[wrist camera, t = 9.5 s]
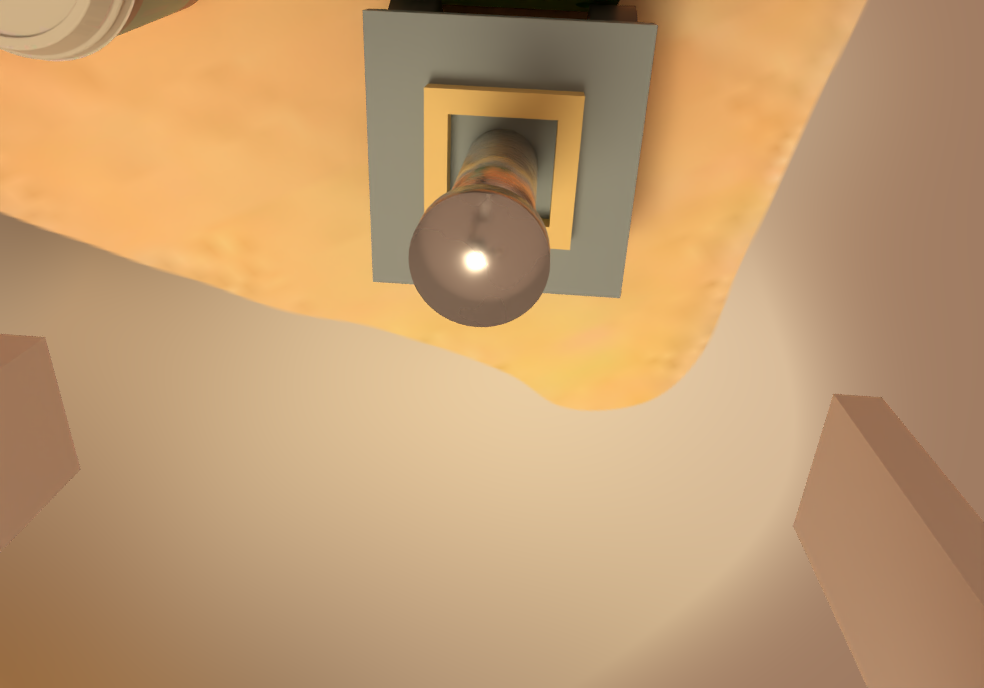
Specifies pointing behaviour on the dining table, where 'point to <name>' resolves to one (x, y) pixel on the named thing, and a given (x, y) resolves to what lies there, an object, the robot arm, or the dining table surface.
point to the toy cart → (509, 124)
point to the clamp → (534, 4)
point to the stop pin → (484, 237)
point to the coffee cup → (74, 24)
